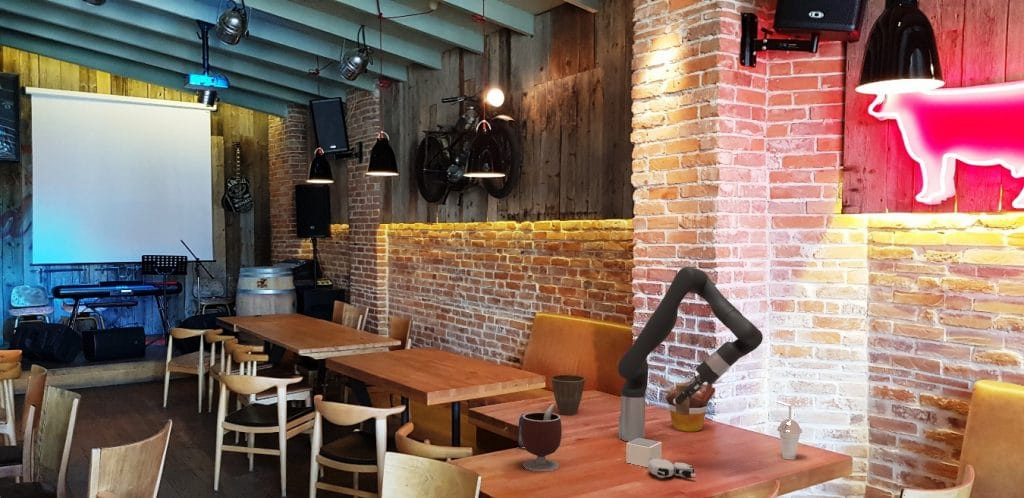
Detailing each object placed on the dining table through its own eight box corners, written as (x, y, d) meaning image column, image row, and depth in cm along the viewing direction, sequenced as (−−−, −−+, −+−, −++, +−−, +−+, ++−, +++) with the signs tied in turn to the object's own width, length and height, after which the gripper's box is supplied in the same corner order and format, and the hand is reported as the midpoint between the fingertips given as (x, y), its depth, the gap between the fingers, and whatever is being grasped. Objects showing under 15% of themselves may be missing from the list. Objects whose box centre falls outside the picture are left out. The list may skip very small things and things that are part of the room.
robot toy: (690, 473, 249) (645, 468, 250) (691, 460, 249) (647, 455, 250) (696, 485, 237) (649, 480, 238) (698, 471, 237) (650, 466, 238)
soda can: (539, 445, 277) (539, 414, 277) (533, 450, 270) (534, 418, 270) (521, 444, 279) (522, 412, 279) (516, 448, 273) (516, 416, 273)
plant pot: (585, 417, 322) (586, 381, 322) (551, 417, 322) (552, 380, 322) (583, 410, 337) (583, 375, 337) (550, 409, 337) (550, 374, 337)
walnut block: (675, 414, 253) (676, 385, 252) (675, 411, 257) (676, 382, 257) (689, 415, 252) (689, 385, 251) (689, 412, 256) (689, 383, 256)
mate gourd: (548, 475, 242) (549, 414, 242) (512, 468, 250) (513, 409, 249) (570, 463, 255) (571, 406, 255) (535, 456, 263) (536, 400, 263)
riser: (626, 463, 257) (626, 442, 256) (638, 457, 264) (638, 437, 264) (649, 468, 251) (649, 447, 251) (661, 462, 258) (661, 441, 258)
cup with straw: (790, 462, 260) (791, 405, 260) (770, 455, 268) (771, 400, 268) (807, 459, 264) (807, 403, 264) (787, 452, 272) (787, 398, 272)
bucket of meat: (664, 432, 299) (665, 383, 299) (663, 422, 315) (664, 376, 315) (715, 435, 295) (716, 385, 295) (711, 425, 312) (712, 378, 311)
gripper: (704, 356, 259) (669, 389, 262) (706, 363, 245) (668, 397, 248) (720, 372, 258) (684, 404, 261) (722, 379, 244) (684, 413, 247)
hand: (676, 400), depth 255 cm, fingers closed on walnut block, 4 cm apart
